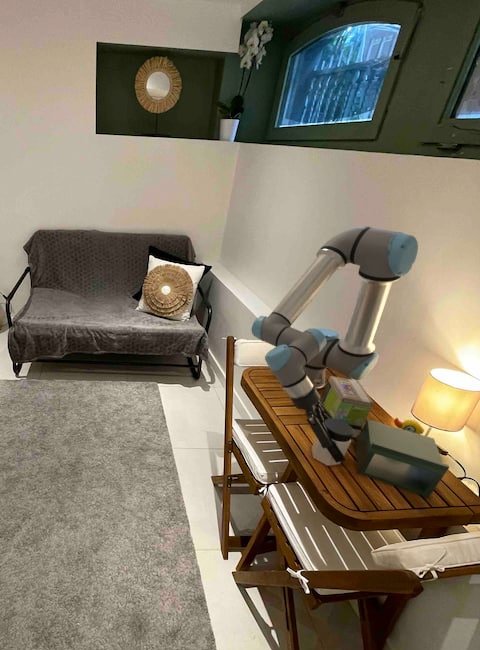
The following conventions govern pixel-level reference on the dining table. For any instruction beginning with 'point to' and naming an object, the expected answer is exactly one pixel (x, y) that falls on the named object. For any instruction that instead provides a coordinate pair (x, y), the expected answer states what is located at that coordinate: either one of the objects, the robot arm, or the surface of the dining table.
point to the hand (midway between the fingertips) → (340, 451)
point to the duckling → (409, 426)
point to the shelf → (396, 467)
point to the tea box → (347, 402)
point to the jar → (339, 435)
